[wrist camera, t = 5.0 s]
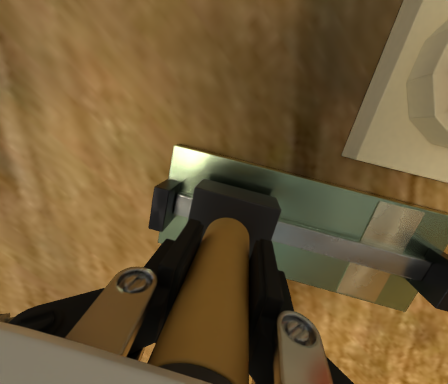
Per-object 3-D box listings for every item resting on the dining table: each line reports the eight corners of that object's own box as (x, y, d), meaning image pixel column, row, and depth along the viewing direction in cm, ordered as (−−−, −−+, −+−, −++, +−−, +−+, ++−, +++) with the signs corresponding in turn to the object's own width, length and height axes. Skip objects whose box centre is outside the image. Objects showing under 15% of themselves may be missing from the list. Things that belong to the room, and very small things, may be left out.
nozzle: (205, 175, 15) (61, 319, 4) (275, 194, 15) (364, 412, 3) (182, 279, 18) (57, 556, 6) (241, 296, 17) (226, 617, 6)
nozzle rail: (179, 143, 16) (160, 146, 13) (447, 212, 15) (505, 236, 12) (163, 235, 18) (143, 259, 15) (395, 300, 18) (431, 341, 14)
